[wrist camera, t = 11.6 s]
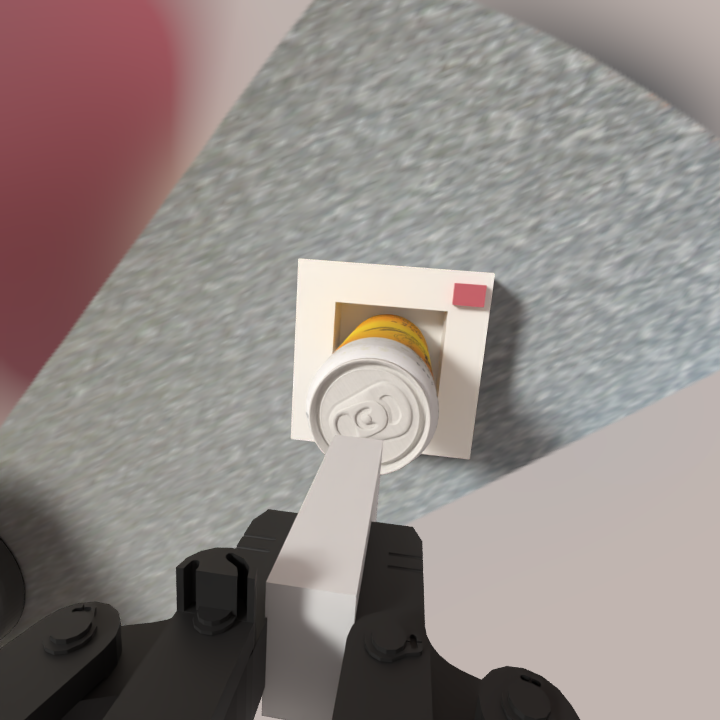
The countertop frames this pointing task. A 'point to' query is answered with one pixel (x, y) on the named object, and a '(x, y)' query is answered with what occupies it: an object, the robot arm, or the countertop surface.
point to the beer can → (377, 391)
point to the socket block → (413, 302)
